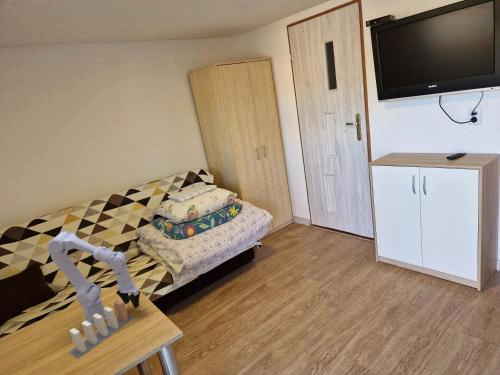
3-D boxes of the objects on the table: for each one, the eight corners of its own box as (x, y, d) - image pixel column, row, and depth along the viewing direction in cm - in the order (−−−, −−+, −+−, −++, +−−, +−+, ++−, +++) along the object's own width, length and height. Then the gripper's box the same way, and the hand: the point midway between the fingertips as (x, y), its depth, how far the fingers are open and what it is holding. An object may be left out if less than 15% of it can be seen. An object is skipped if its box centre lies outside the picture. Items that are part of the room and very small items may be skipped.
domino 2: (87, 341, 144) (81, 323, 141) (91, 338, 145) (85, 320, 142) (94, 344, 140) (87, 326, 138) (98, 341, 142) (91, 323, 139)
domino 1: (76, 349, 140) (69, 330, 137) (80, 346, 141) (73, 328, 139) (82, 353, 137) (75, 334, 134) (86, 350, 138) (79, 331, 136)
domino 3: (98, 333, 147) (92, 315, 145) (102, 330, 149) (96, 313, 146) (105, 336, 144) (98, 318, 142) (108, 334, 146) (102, 316, 143)
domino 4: (109, 326, 151) (103, 308, 148) (112, 323, 152) (106, 306, 150) (115, 329, 148) (109, 311, 145) (119, 326, 149) (113, 309, 147)
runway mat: (68, 353, 139) (68, 352, 139) (125, 313, 159) (125, 312, 159) (78, 359, 134) (78, 358, 134) (135, 317, 154) (135, 317, 154)
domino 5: (119, 319, 155) (113, 302, 152) (122, 316, 156) (117, 299, 154) (125, 322, 152) (119, 304, 149) (128, 319, 153) (123, 302, 150)
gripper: (140, 277, 152) (148, 303, 155) (122, 271, 161) (130, 296, 164) (127, 286, 146) (135, 312, 150) (109, 279, 155) (117, 305, 159)
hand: (132, 304), depth 157 cm, fingers open, 7 cm apart
